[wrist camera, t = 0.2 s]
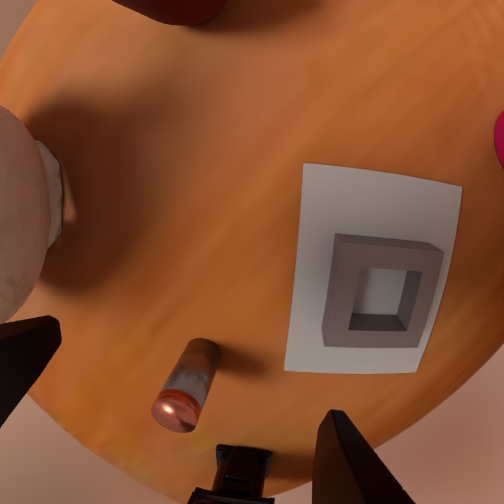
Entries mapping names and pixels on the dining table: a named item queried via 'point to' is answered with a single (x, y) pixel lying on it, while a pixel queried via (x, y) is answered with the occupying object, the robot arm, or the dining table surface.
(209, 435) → the dining table surface
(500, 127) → the pepper mill
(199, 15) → the mug
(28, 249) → the ceramic pitcher
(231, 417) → the dining table surface
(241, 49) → the dining table surface
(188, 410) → the pin
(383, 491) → the robot arm
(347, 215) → the grey plate with socket
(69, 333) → the dining table surface
